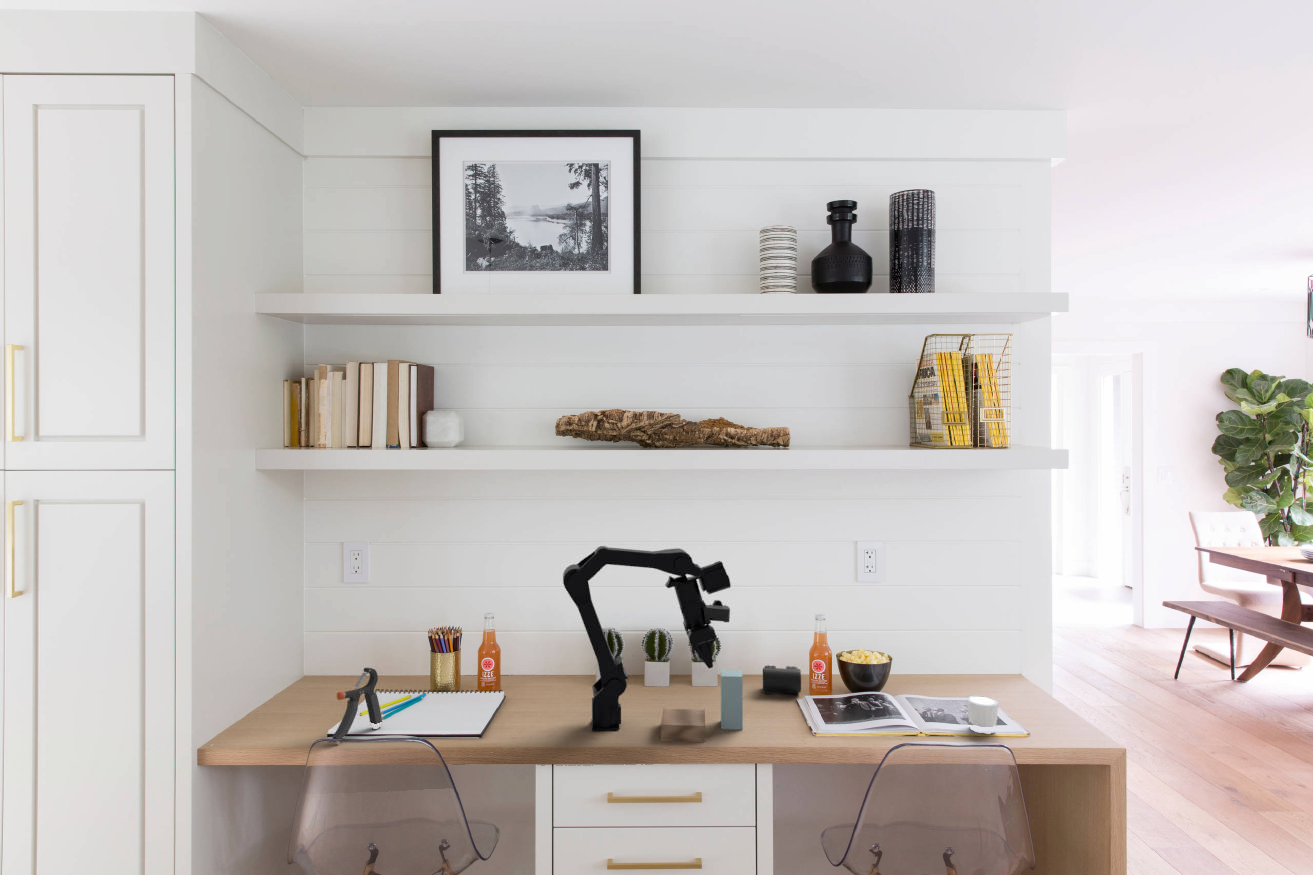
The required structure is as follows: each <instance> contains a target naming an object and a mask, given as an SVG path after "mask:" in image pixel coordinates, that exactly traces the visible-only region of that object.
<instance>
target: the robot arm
mask: <svg viewBox="0 0 1313 875" xmlns="http://www.w3.org/2000/svg"><path fill="white" fill-rule="evenodd" d="M606 565H613V566H624V567H634V568H646V569H655V570H658V571H661V572H663V573H666V574H671V575H674V576H677V577H672V576H671V575H669V576H668V580H667V582H665V584H664V585H665V587H666V588H668V589H670V588H674V590H675V594H676V599H677V602H678V604H679V610H680V611H681V616H682V618H683V621H682V625H683V627H684V630H685V633H686V635H687V637H688V641H689V644H690V646H691V648H692V649H693V650H694V652H695V653H696V654H697V655H698V656H699V658H700V659H701V660H702V661H703V663H704V664H705V665H706V667H707V668H708V669H712V668H713V667H714V663H713V661H714V660H713V644H714V643H715V642H716V640H717V634H716V631H715V628H714V626H712V625H710V624H712V621H713V622H723V623H729V622H730V616H731V608H730V607H729V606H727V605H725V604H724V605H723V603H722V600H719V599H715V600H714V601H713V603H712V604H706V602H705V600H703V597H702V594H701V591H702V592H703V593H704V592H706V593H707V594H708V595H711V594H714V593H718V592H721V591H724V590H727V589H730V588H731V581H730V576H729V575H728V573H727V571H726V569H725V567H724V563H723V562H722V561H721V560H718V561H716V562H713V563H711V564H709V565H705V566H702V567H701V566H700V565H699V564H698V563H695V562H693V558H692V557H691V555H690V554H689V553H688V552H686V550H684V549H682V548H676V547H675V548H668V549H660V550H655V551H654V550H640V549H633V548H632V549H630V548H629V549H628V548H619V547H618V548H617V547H608V546H605V545H600V546H598V547H597V548H596V549H595V550H594V551H592V552H591V553H590V554H589V555H587V556H586V557H584V558H583V559H581V560H580V561H579V562H578V563H575V564H574V563H573V564H571V565H569V566H567V567H565V569H564V571H563V573H562V584H563V586H564V589H565V591H566V592H567V594H568V596H569V597H570V598H571V600H572V602H573V603H574V605H575V606H576V608H577V610H578V612H579V615H580V617H581V620H582V624H583V626H584V628H585V632H586V634H587V636H588V639H589V642H590V644H591V647H592V650H593V653H594V655H595V657H596V660H597V665H598V671H599V676H600V678H598V680H597V681H596V682H594V683H593V684H592V695H593V697H592V698H591V720H590V721H591V722H590V723H591V731H593V732H594V731H595V732H596V731H597V732H598V731H599V732H600V731H613V730H614V731H617V730H620V725H621V724H622V705H621V703H619V702H620V701H619V698H620V696H622V695H623V694H624V693H625V691H626V690H627V687H628V686H627V685H628V684H627V680H628V679H629V677H628V674H627V670H626V668H625V667H624V665H623V662H622V658H621V655H618V656H617V657H615V656H614V654H613V653H612V652H611V649H610V646H609V643H608V640H607V638H606V636H605V635H606V634H605V633H604V630H603V627H602V625H601V624H602V623H601V621H600V620H599V619H600V618H599V617H598V614H597V611H596V608H595V606H594V603H593V600H592V596H591V590H590V584H589V582H590V580H592V578H594V577H595V576H596V575H597V573H599V572H600V571H601V570H602V569H603V568H604V567H606ZM687 575H690V576H689V577H687ZM698 583H699V584H698ZM699 586H700V587H699ZM700 589H701V591H700Z"/></svg>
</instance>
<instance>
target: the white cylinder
mask: <svg viewBox="0 0 1313 875" xmlns="http://www.w3.org/2000/svg"><path fill="white" fill-rule="evenodd" d="M966 704H967V715H968V723H969V722H971V723H972V724H974V725H977V726H980V727H993V726H995V725H996V726H997V720H998V719H997V718H998V709H999V701H998V700H996V699H995V698H993V697H989V696H985V695H971V696H967V698H966Z"/></svg>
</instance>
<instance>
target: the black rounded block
mask: <svg viewBox="0 0 1313 875" xmlns="http://www.w3.org/2000/svg"><path fill="white" fill-rule="evenodd" d="M762 691H763V693H765V694H778V695H779V694H780V695H781V694H783V695H799V694H800V693H801V692H802V672H801V669H800V668H798V667H797V666H794V665H793V666H789V665H787V666H786V667H785V668H783V667H782V668H780V667H779V668H778V667H776V665H765V666H764V667H763V668H762Z"/></svg>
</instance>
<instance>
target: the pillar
mask: <svg viewBox="0 0 1313 875" xmlns="http://www.w3.org/2000/svg"><path fill="white" fill-rule="evenodd" d="M743 677H744V676H743V671H742V669H720V728H721V730H733V731H734V730H737V731H742V730H743V728H744V727H743V720H744V719H743V718H744V717H743V716H744V714H743V710H744V708H743V707H744V706H743V704H744V702H743V700H744V698H743V696H744V695H743V692H744V691H743V683H744V682H743Z"/></svg>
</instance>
